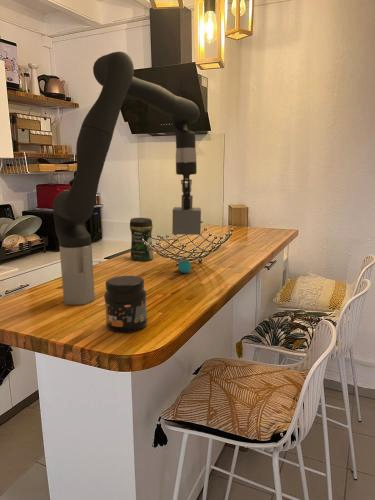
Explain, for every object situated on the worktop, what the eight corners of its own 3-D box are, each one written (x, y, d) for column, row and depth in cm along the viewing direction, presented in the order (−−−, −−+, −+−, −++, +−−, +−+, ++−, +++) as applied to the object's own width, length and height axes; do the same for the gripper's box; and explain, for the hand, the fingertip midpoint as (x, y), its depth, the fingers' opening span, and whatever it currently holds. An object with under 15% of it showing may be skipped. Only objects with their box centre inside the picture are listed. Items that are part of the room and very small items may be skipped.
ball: (185, 258, 147) (174, 266, 148) (193, 269, 148) (182, 276, 149) (186, 256, 152) (176, 263, 153) (194, 266, 153) (183, 273, 154)
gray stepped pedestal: (200, 234, 144) (201, 196, 141) (172, 234, 144) (172, 196, 141) (199, 230, 153) (200, 194, 151) (173, 229, 154) (174, 194, 151)
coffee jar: (128, 260, 173) (126, 218, 169) (138, 256, 180) (136, 216, 176) (146, 262, 169) (145, 219, 165) (156, 258, 176) (155, 217, 172)
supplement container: (97, 325, 101) (95, 280, 98) (131, 315, 108) (129, 272, 106) (122, 337, 93) (119, 289, 91) (156, 325, 101) (154, 280, 98)
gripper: (176, 161, 150) (177, 206, 154) (174, 161, 136) (176, 210, 140) (196, 161, 150) (196, 206, 154) (196, 160, 136) (197, 210, 140)
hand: (187, 208), depth 147 cm, fingers closed on gray stepped pedestal, 4 cm apart
